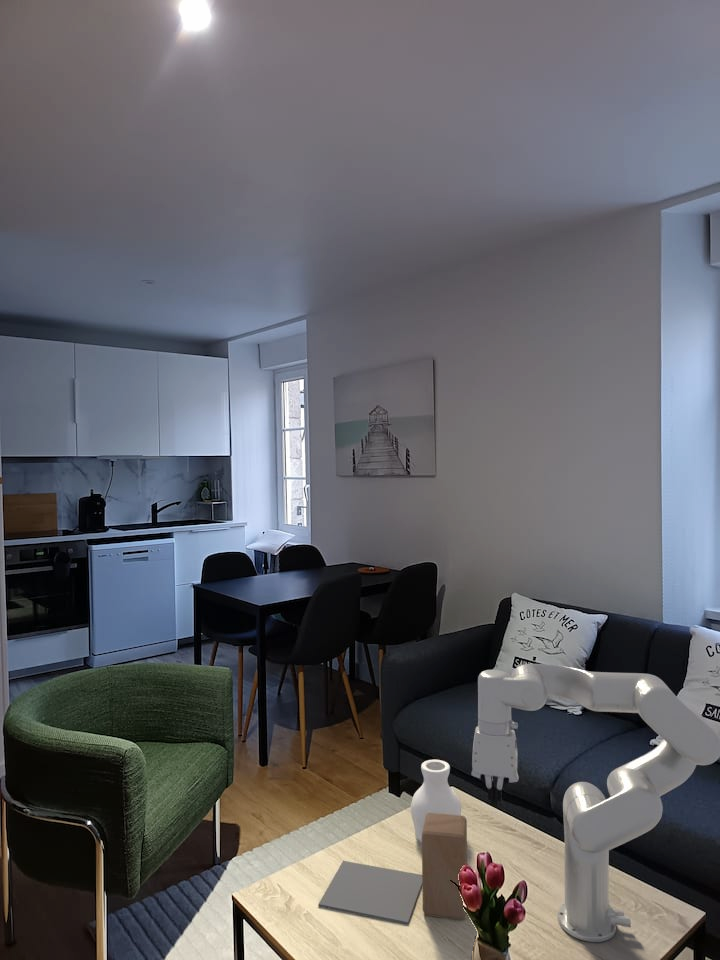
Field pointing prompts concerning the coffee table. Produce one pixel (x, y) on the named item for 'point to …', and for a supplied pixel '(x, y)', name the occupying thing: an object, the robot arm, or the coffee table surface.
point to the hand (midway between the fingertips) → (494, 803)
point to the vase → (433, 795)
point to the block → (443, 864)
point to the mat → (373, 892)
